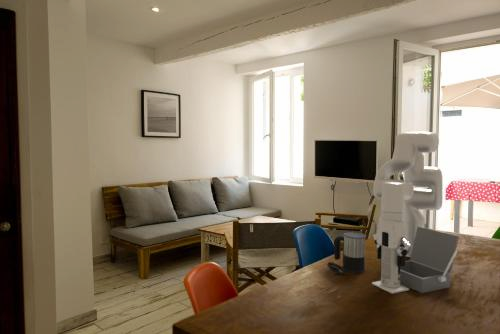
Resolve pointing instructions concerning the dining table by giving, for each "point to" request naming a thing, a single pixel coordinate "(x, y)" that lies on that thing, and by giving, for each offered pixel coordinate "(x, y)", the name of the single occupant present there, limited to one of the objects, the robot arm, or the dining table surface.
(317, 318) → the dining table surface
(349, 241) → the milk frother
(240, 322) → the dining table surface
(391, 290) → the pad
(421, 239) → the case
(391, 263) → the spray can
